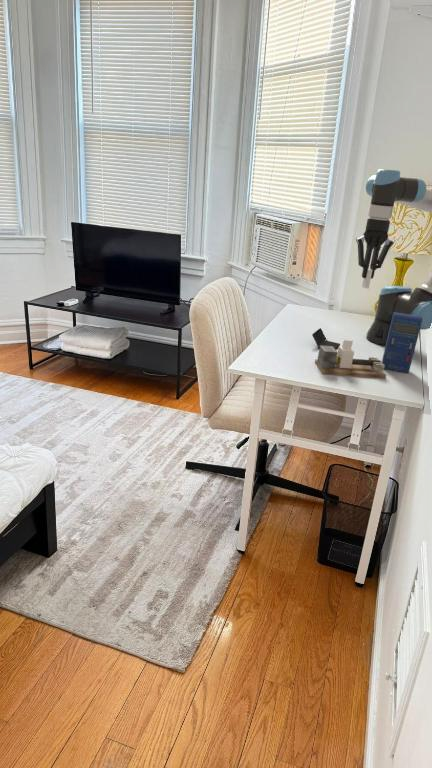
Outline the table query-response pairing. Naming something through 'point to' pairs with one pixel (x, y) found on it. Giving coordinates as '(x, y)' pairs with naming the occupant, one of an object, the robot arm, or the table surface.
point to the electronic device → (401, 342)
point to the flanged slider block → (345, 354)
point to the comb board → (359, 367)
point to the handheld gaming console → (323, 339)
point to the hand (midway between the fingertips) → (365, 287)
